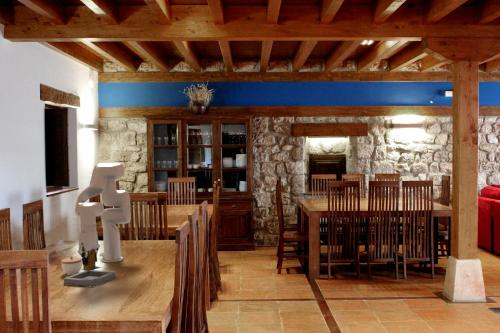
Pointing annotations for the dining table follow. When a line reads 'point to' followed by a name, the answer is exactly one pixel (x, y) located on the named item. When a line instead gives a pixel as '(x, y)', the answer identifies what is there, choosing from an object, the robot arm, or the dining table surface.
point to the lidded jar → (71, 265)
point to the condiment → (90, 261)
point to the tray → (90, 278)
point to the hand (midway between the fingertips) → (89, 263)
